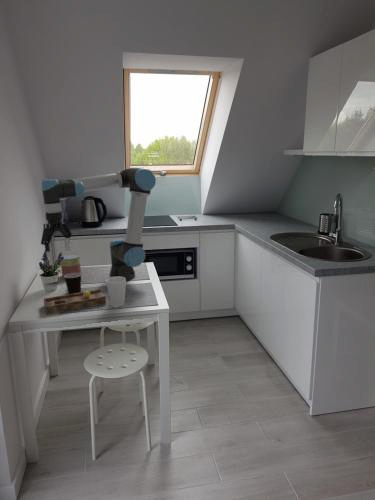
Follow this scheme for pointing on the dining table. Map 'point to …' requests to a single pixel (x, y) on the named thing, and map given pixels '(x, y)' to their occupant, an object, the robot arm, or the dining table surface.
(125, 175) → the robot arm
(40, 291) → the dining table surface
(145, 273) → the dining table surface
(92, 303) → the tray
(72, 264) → the canned food
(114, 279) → the foam cup
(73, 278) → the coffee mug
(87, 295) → the ball
